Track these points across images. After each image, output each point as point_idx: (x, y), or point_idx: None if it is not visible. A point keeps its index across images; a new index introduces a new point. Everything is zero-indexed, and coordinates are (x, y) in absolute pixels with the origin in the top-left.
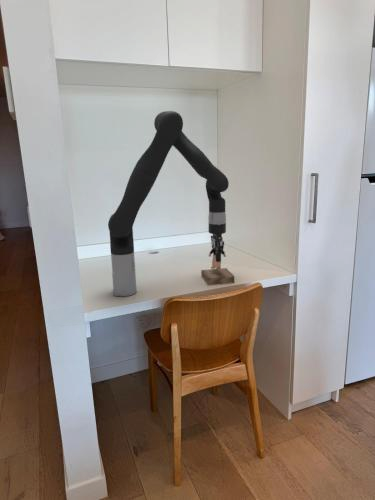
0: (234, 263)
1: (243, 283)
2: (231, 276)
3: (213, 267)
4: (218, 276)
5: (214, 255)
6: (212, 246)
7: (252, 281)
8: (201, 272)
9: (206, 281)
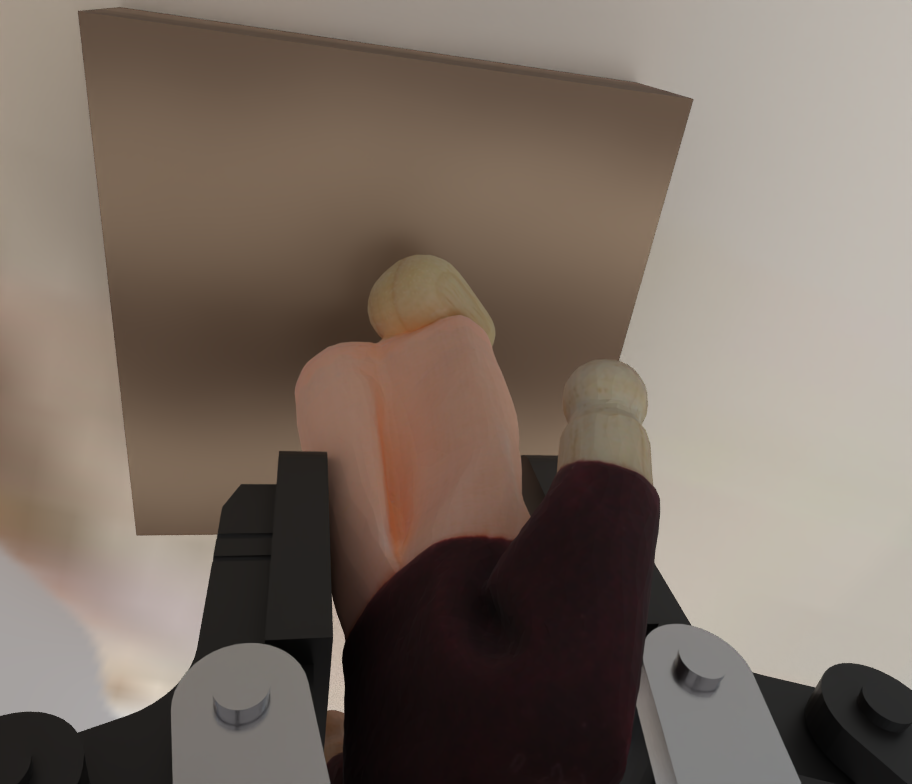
0: (827, 637)
1: (106, 557)
2: (134, 495)
3: (381, 312)
4: (177, 295)
5: (430, 533)
6: (879, 759)
7: (164, 655)
8: (660, 91)
9: (212, 23)
